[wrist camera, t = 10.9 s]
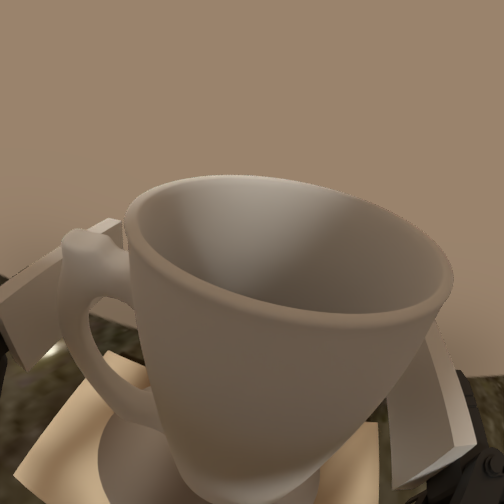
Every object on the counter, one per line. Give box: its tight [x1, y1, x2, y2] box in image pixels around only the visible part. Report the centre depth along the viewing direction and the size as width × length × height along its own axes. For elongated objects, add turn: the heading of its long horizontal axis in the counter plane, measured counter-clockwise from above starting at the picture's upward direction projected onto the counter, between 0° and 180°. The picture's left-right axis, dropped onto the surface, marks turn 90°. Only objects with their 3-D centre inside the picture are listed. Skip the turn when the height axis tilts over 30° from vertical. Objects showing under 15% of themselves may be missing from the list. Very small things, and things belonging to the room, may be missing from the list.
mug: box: [57, 175, 454, 504], centre depth 9 cm, size 10×7×12 cm, turn 88°
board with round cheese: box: [13, 350, 379, 504], centre depth 12 cm, size 22×14×6 cm, turn 77°
